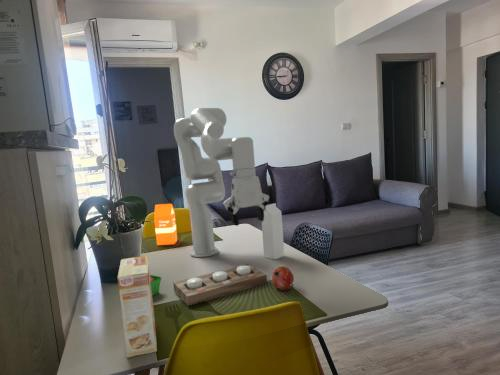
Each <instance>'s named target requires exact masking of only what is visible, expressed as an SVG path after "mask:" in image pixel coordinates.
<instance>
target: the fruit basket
mask: <svg viewBox="0 0 500 375" xmlns="http://www.w3.org/2000/svg"><path fill="white" fill-rule="evenodd" d="M161 280H162V277H161V276H158V275H154V274H150V281H151V290H152V296H153V295H156V294H159V292H160V286H161Z"/></svg>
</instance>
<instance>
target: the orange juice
mask: <svg viewBox="0 0 500 375" xmlns="http://www.w3.org/2000/svg"><path fill="white" fill-rule="evenodd" d="M153 214H154V216H153V220H154V230H155V239H156V245H157V246H164V245H165V246H166V245H167V246H168V245H175V244H176V243H177V241H178V235H177V234H178V232H177V223H176V213H175V209H174V206H173V204H172V203H160V204H155V205H154V213H153Z"/></svg>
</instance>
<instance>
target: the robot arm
mask: <svg viewBox="0 0 500 375" xmlns="http://www.w3.org/2000/svg"><path fill="white" fill-rule="evenodd" d="M226 124H227V116H226V113H225V111H224V110H223V109H222V108H220V107H200V108H199V107H198V108H196V109H194V110H193V111H192V112H191V113H190V117H182V118H178V119H177V120H175V122H174V124H173V135H174V138H175V141H176V144H177V146H178V148H179V151H180V154H181V159H182V164H183V170H184V175H185V176H186V178H187V179H188V180H189V181H201V182H196V183H192V184H189V185H188V186H187V187H186V189H185V198H186V202H187V205H188V211H189V218H190V219H189V220H190V227H191V238H192V250H190V252H189V255H190V256H191V257H194V258H207V257H212V256H215V255H217V254H218V253H219V248H218V247H217V246H216V247H215V235H214V225H213V224H214V223H213V215H212V211H211V209H209V207H208V206H207V204H210V203H217V202H221V201H223V200H224V199H225V197H226V187H225V183H224V179H223V174H222V169H221V165H220V163H219V161H226V160H231V161H232V171H229V175H230V176H231V177H233V178H232V180H231V187H230V189H231V191H230V193H231V196H229V197H228V198H227V199H225V200H224V201H223V202H222V204H223V205H224V208H225V209H226V211H228V213H230V214H231V222H232V224H233V225H235V226H240V221H239V214H238V213H237V212H238V211H239V210H240V209H244V208H252V207H257V209H256V214H257V220H258V221H261V222H262V221H264V210H265V209H266V205H268V202H269V199H270V195H269V194H265V193H263V192H262V187H261V181H260V179H259V176H256V175H257V174H256V162H255V151H254V150H255V149H254V140H253V137H250V136H242V137H240V136H239V137H226V138H225V137H224V138H222V136H223V135H224V131H225V126H226ZM193 138H200V145H201V148H202V150H203V153H205V154H206V156H208V157H203V156H202V151H201V148H200V146H199V144H198V143H197V142H196V141H195V140H194V139H193ZM202 180H208V181H202ZM230 203H231V205H232V207H231V206H230Z"/></svg>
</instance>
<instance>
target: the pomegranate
mask: <svg viewBox="0 0 500 375" xmlns="http://www.w3.org/2000/svg"><path fill="white" fill-rule="evenodd" d="M294 278H295V277H294V274H293V272H292V270H291V269H289V267H287V266H286V265H285V266H284V265H282V266H279V267H277V268H276V269H274V270H273V272H272V275H271V284H272V285H273V286H274V287H275V288H276V289H278V290H280V291H287V290H289V289H290V288H291V287H292V286H291V285H293V282H294V280H295V279H294Z"/></svg>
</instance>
